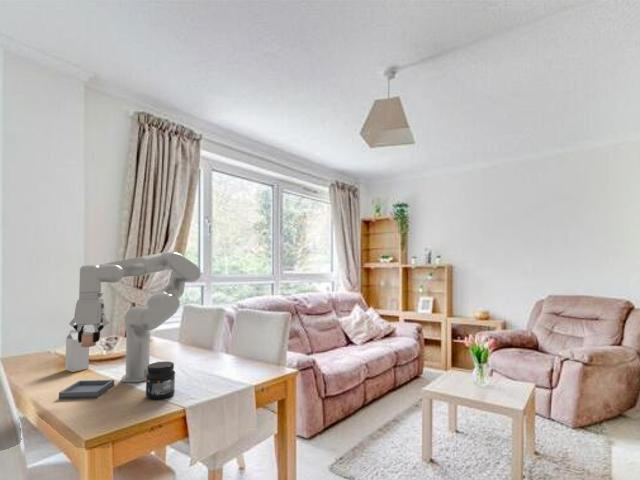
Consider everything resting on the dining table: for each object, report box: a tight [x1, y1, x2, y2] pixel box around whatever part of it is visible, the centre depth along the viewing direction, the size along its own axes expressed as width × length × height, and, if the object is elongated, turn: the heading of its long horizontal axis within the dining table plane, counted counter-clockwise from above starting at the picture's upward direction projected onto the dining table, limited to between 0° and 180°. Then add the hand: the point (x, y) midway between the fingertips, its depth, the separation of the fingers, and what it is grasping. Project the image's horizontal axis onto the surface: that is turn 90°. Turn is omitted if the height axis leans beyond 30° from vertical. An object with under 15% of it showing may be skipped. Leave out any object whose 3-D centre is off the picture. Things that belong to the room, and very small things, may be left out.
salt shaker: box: [81, 330, 97, 348], centre depth 153 cm, size 5×5×6 cm
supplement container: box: [145, 360, 176, 401], centre depth 149 cm, size 10×10×12 cm
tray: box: [58, 379, 115, 400], centre depth 152 cm, size 14×14×2 cm
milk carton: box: [64, 327, 90, 373], centre depth 183 cm, size 7×7×19 cm
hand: (88, 341), depth 153 cm, fingers closed on salt shaker, 5 cm apart
